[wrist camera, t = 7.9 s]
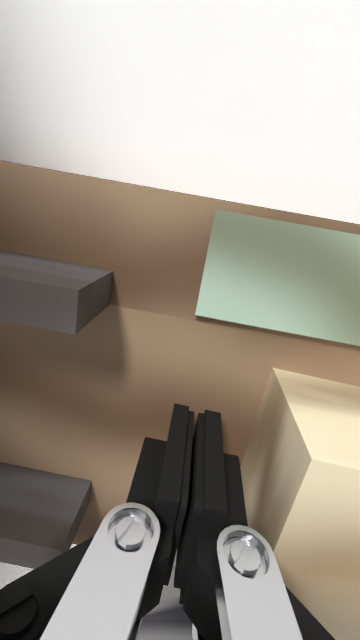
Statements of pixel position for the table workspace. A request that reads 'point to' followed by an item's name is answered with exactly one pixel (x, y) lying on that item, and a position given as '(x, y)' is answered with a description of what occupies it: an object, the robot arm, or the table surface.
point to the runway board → (146, 334)
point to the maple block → (309, 492)
